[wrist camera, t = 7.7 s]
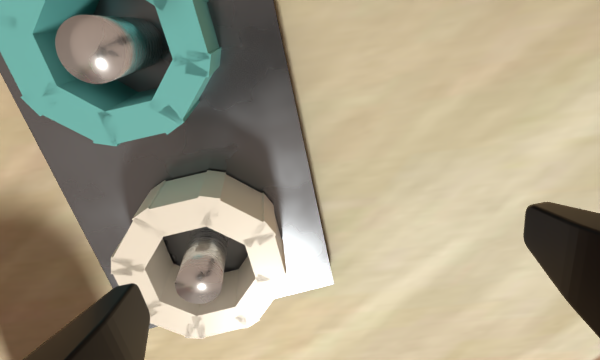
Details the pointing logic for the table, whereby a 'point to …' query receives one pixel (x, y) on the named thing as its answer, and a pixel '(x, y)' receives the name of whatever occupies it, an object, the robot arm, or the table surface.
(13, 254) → the table surface
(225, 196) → the cream gear
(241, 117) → the gear board
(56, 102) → the teal blocky piece
